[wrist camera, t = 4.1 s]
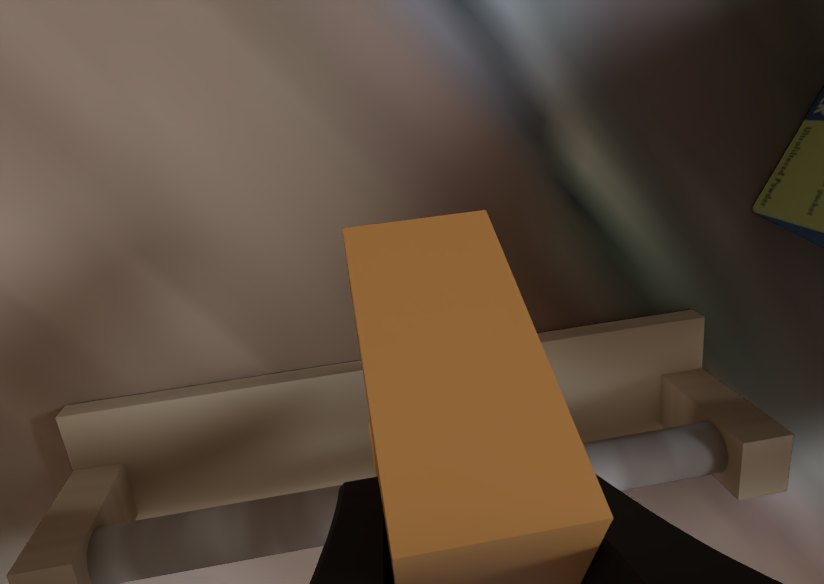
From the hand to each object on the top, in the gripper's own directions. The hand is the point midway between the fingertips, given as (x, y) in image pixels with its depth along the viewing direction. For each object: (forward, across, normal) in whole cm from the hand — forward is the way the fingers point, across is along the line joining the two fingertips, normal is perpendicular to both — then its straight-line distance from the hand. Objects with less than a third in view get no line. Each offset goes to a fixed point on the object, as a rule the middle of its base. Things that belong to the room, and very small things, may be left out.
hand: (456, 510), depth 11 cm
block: (+3, 0, -2) cm, 4 cm away
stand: (+10, 0, +5) cm, 12 cm away
